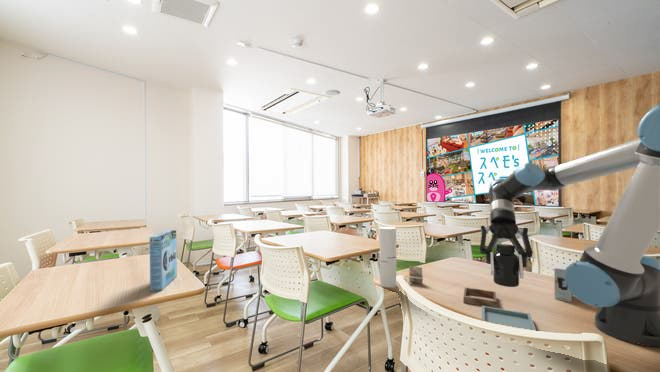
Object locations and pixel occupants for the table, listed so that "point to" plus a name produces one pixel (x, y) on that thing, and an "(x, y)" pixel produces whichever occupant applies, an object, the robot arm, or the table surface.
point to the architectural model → (415, 274)
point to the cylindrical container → (387, 256)
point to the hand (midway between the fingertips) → (506, 274)
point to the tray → (507, 317)
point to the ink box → (561, 284)
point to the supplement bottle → (506, 266)
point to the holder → (478, 300)
